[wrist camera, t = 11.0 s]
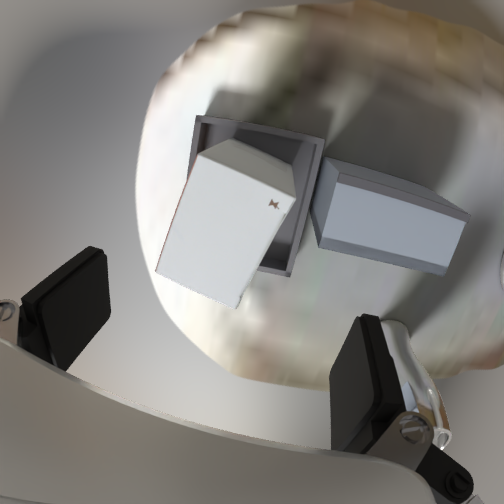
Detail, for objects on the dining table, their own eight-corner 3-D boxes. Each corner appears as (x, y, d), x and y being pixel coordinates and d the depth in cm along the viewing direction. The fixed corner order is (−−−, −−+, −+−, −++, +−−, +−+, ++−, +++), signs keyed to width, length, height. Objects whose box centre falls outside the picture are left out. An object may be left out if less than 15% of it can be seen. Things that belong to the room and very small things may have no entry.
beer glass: (344, 355, 33) (360, 468, 20) (373, 309, 30) (412, 426, 17) (391, 365, 33) (419, 468, 20) (422, 323, 30) (469, 428, 17)
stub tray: (321, 137, 24) (325, 139, 22) (289, 264, 29) (290, 277, 27) (204, 115, 24) (196, 115, 22) (187, 242, 29) (178, 253, 27)
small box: (232, 136, 24) (197, 148, 14) (294, 165, 25) (299, 195, 15) (196, 218, 27) (151, 273, 18) (252, 244, 28) (235, 313, 18)
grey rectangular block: (424, 186, 24) (470, 215, 17) (408, 235, 26) (445, 278, 19) (323, 156, 24) (340, 173, 17) (309, 210, 27) (318, 249, 19)
